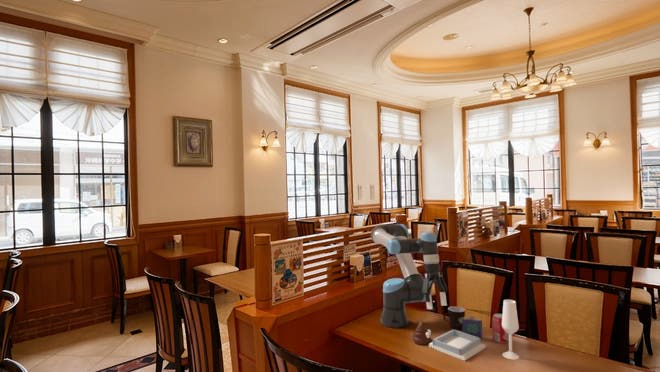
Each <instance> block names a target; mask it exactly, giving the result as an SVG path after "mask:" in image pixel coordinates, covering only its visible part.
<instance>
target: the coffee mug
mask: <svg viewBox="0 0 660 372" xmlns="http://www.w3.org/2000/svg"><path fill="white" fill-rule="evenodd" d="M447 315H448V319H449V320H447V319H446V316H447ZM465 317H466V309H465V308H464V307H461V306H449V307H448V308H447V312H445V313H444V315H443V320H444V321H445V322H447V323H448V324H449V326H450V329H451V330H453V329H454V330H460V331H463V324H462V318H465Z"/></svg>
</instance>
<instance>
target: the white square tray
mask: <svg viewBox="0 0 660 372" xmlns="http://www.w3.org/2000/svg"><path fill="white" fill-rule="evenodd" d="M481 340H482V338H479V337H476V336H473V335H470V334H467V333H464V332H463V331H462V330H460V331H458V330H454V329H451V330H449V331H447V332H445V333H443V334H441V335H438V336H437V337H434V338H433V339H432V341H431V342H429V343H428V347H429V348H431V347H432V349H433V348H434V350H435V351H438V352H440V353H444V354H445V355H446V354H447V355H449V356H451V357H453V358H456V359H458V360H462V361H464V362H465V361H467V360H468V359H470V358H471V357H473V356H474V355H477V354H478V353H480V352H481V351H483V350H484V349H486V344H484V343H482V342H481Z"/></svg>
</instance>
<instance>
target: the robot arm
mask: <svg viewBox="0 0 660 372" xmlns="http://www.w3.org/2000/svg"><path fill="white" fill-rule="evenodd" d="M409 233H410V232H409V230H408V228H407V226H406V225H405V224H403V223H396V224H379V225H377V226H375V227H373V228H372V229H371V232H370V238H371V240H372V242H374V243H375V244H378V245H382V246H384V247H385V248H386V249H387V252H388V253H389V254H390V255H396V258H397V261H398V264H399V267H400V269H401V272H402V275H403V278H399V277H394V278H389V279H386V281H384V282H383V285H382V292H383V293H382V294H383V299H382V300H383V309H382V312H381V316H380V323H381V325H383V326H385V327H388V328H392V329H393V328H397V329H399V328H404V327H407V326H408V325H409V317H408V316H407V312H406V304H410V303H422V302H425V303H426V310H433V309H434V307H433V300H432V288H433V285H434V283H435V285H436V286H437V287H438V289H439V297H440V306H442V307H443V306H448V303H447V296H446V293H447V292H448V286H447V284H446V281H445V279H444V276H443V272H442V271H441V265H440V263H439V262H440V256H439V249H438V246H439V245H438V239H437V235H436V233H435V232H434V231H433V232H431V231H430V232H423V233H421V234H420V238H419V237H418V238H410V234H409ZM416 253H418V254H421V253H422V255H423V257H422V258H423V263H424V264H423V265H424V271H425V272H426V273H423V275H422V274H421V273H419V271H418V269H417V266H416V263H415V261H414V259H413V256H412V254H416ZM440 271H441V272H440Z"/></svg>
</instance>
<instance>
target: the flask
mask: <svg viewBox="0 0 660 372" xmlns="http://www.w3.org/2000/svg"><path fill="white" fill-rule="evenodd" d="M462 324H463V330H462V332H464V333H467V334H470V335H473V336H476V337H479V338H481V339H483V337H484V336H483V320H482V319H481V318H475V316H474V314H472V315H470V317H467V316H465V317H464V318H462Z"/></svg>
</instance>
